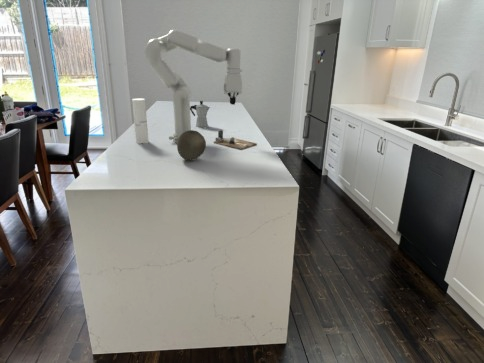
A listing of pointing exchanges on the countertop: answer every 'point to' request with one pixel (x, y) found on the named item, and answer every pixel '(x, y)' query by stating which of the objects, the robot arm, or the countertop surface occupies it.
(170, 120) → the countertop surface
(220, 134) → the swing bar
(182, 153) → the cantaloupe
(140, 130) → the cylindrical container
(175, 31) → the robot arm
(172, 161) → the countertop surface
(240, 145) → the plate
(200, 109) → the coffee maker
